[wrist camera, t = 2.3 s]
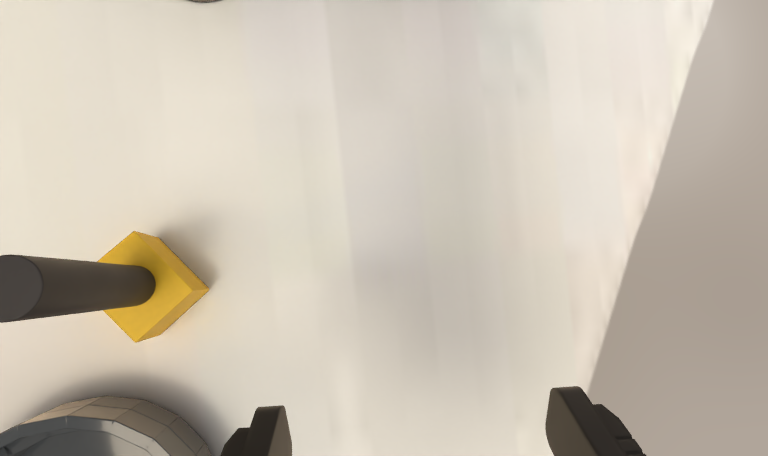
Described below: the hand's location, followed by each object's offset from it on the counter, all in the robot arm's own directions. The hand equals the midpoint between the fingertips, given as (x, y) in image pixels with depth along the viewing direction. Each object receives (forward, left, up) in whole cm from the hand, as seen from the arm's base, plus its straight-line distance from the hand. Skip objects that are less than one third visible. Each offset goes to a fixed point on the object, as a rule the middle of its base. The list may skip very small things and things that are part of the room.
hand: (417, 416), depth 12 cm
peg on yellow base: (-14, -9, -21) cm, 27 cm away
